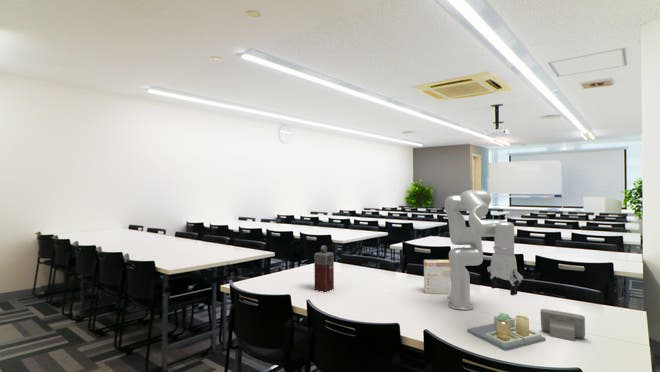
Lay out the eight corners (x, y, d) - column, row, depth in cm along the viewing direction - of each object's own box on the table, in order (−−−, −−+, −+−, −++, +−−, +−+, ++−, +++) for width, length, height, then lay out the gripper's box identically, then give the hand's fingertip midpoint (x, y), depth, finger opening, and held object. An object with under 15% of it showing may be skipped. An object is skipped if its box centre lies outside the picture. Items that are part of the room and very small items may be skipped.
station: (467, 331, 156) (467, 312, 156) (504, 323, 165) (504, 305, 165) (505, 350, 137) (505, 328, 137) (545, 340, 146) (545, 320, 146)
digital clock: (587, 338, 148) (586, 313, 148) (582, 345, 142) (581, 318, 142) (544, 327, 160) (543, 304, 160) (537, 333, 154) (537, 308, 154)
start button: (497, 323, 159) (497, 314, 160) (503, 322, 161) (503, 312, 161) (504, 327, 156) (504, 317, 156) (511, 325, 157) (511, 315, 157)
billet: (493, 336, 147) (493, 319, 147) (502, 335, 149) (502, 318, 149) (503, 341, 142) (503, 324, 142) (512, 339, 144) (512, 322, 144)
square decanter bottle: (329, 293, 214) (329, 247, 215) (314, 290, 221) (314, 245, 221) (337, 289, 222) (336, 245, 222) (322, 287, 228) (322, 244, 228)
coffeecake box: (448, 291, 218) (448, 259, 218) (451, 294, 211) (450, 262, 211) (423, 290, 220) (423, 259, 220) (425, 293, 212) (425, 261, 213)
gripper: (481, 248, 155) (481, 286, 155) (515, 256, 139) (515, 298, 139) (494, 247, 158) (494, 284, 158) (528, 254, 142) (528, 296, 142)
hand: (503, 291), depth 149 cm, fingers open, 9 cm apart
